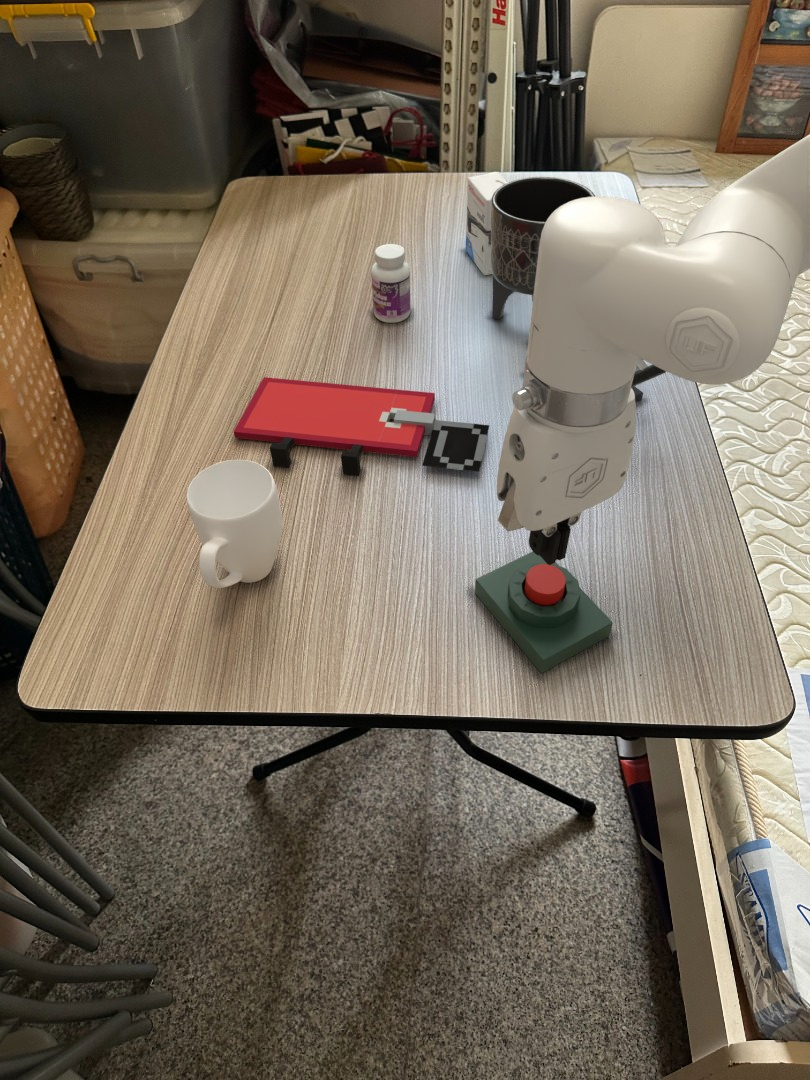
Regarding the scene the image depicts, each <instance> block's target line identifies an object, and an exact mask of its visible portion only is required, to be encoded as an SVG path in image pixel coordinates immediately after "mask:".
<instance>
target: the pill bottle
mask: <svg viewBox="0 0 810 1080" xmlns="http://www.w3.org/2000/svg"><path fill="white" fill-rule="evenodd" d="M405 260H406V255H405V248H404V247H403V246H401V245H399V244H395V243H385V244H382V245H379V246H378V247H376V249H375V251H374V261H375V262H374V263H373V265H372V266H371V270H370V276H371V290H372V291H371V292H372V307H373V314H374V317H375V318H376V319H378V320H379V321H380V322H383V323H387V324H395V323H396V324H397V323H400V322H402V321H404V320H406V319H408V317H409V316H410V314H411V270H410V266H409V264H408V262H406V261H405Z"/></svg>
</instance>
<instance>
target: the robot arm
mask: <svg viewBox="0 0 810 1080" xmlns="http://www.w3.org/2000/svg"><path fill="white" fill-rule="evenodd" d="M666 240H667V239H666V233H665V229H664V226H663V224H662V222H661V221H660V219H659V217H658V216H657V215H656V214H655V213H654V212H653V211H652V210H651V209H649V208H647V207H646V206H644V205H642V204H640V203H638V202H636V201H632V200H630V199H625V198H621V197H615V196H607V195H606V196H605V195H599V196H598V195H597V196H596V195H595V197H585V198H579V199H575V200H573V201H570V202H568V203H566V204H564V205H562V206H560V207H559V208H557V209H556V210H555V211H554V212H553V213H552V214H551V215H550V216H549V218H548V219H547V221H546V223H545V225H544V228H543V230H542V233H541V239H540V245H539V253H538V261H537V270H536V278H535V287H534V295H533V301H532V304H531V305H532V306H531V313H530V322H529V332H528V339H527V340H528V341H527V349H526V358H525V365H524V374H523V382H522V387H521V388H520V390H517V391H515V392H513V394H512V396H511V399H512V403H513V406H514V407H513V409H512V412H511V415H510V418H509V421H508V423H507V426H506V427H507V428H506V431H505V435H504V439H503V442H502V448H501V452H500V456H499V457H500V458H499V463H498V470H497V476H496V477H497V479H496V497H497V500H498V501H500V502H503V504H502V507H501V510H500V512H499V515H498V518H497V521H498V522H499V524H500V525H501V526H502V527H503V528H504V529H505V531H506V532H512V531H517V530H520V529H523V528H524V529H525V530H526V531H529V537H528V546H529V549H531V552H534V553H535V554H536V555H540V556H541V558H542V559H543V560H544V561H545V562H546V563H547V564H548V565H551V564H553V563H555V562H556V561H561V560H563V559H565V558H566V555H567V552H568V551H567V550H568V545H569V540H570V536H571V530H572V528H571V527H574V526H575V525H576V524H577V523H578V522H579V520H580V518H581V515H582V512H585V511H586V510H589V509H591V508H593V507H595V506H596V505H599V504H601V503H603V502H605V501H607V500H609V499H610V498H613V497H614V496H615V495H616V494H618V493H619V492H620V491H621V490H622V488H623V487H624V484H625V482H626V479H627V475H628V471H629V468H630V463H631V458H632V457H631V456H632V453H633V447H634V440H635V432H636V421H637V405H636V404H637V403H635V394H634V391H633V389H632V388H631V386H632V382H633V378H634V373H635V370H636V366H637V362H638V357H639V358H641V359H643V361H644V362H647V363H649V364H650V365H654V366H656V367H658V368H660V369H662V370H664V371H666V372H665V373H669V374H671V375H673V376H676V377H678V378H681V379H683V380H686V381H689V382H693V383H698V384H703V385H709V386H710V385H713V386H714V385H717V386H718V385H719V386H720V385H727V384H732V383H735V382H739V381H741V380H743V379H745V378H747V377H749V376H750V375H752V374H754V373H755V372H756V371H757V370H758V369H760V367H762V365H763V364H764V363H765V362H766V361H767V360H768V358H769V356H770V355H771V354H772V352H773V350H774V348H775V345H776V344H777V341H778V339H779V336H780V333H781V329H782V327H783V324H784V320H785V317H786V314H787V310H788V307H789V304H790V300H791V297H792V294H793V291H794V289H795V284H796V281H797V278H798V276H800V275H802V274H804V273H805V272H807V271H809V270H810V133H809V134H808V135H806V136H805V137H802V139H800V140H798V141H796V142H794V143H793V144H792V145H790V146H788V147H787V148H785V149H784V150H782V151H780V152H779V153H777V154H776V155H774V156H773V157H771V158H769V159H768V160H766V161H765V162H763V163H762V164H760V165H759V166H757V167H755V168H753V169H752V170H750V171H749V172H748V173H745V174H744V175H743V176H741V177H739V178H738V179H737V180H735V181H733V182H732V183H731V184H729V185H728V186H726V187H725V188H724V189H722V190H720V191H719V192H718V193H717V194H715V195H714V196H713V197H711V198H710V199H709V200H708V201H707V202H706V203H705V204H703V206H701V208H700V209H699V210H698V211H697V212H696V213H695V215H693V217H692V218H691V219H690V221H689V222H688V224H687V225H686V227H685V229H684V230H683V231H682V234H681V235H680V237H679V239H678V240H677V242H676V244H675V245H674V246H673V245H670V244H668V243H667V241H666Z"/></svg>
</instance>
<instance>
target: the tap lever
mask: <svg viewBox="0 0 810 1080" xmlns="http://www.w3.org/2000/svg"><path fill="white" fill-rule="evenodd" d="M666 373H667V372H666V371H664V370H662V369H660V368H658V367H656V366H654V365H652V364H650V365H648V364H647V363H646V361H645V360H643V359H641V358H639V357H638V362H637V366H636V370H635V373H634V378H633V382H632V386H631V387H633V386H635V387H637V386H638V385H641V384H642V383H643V384H644V383H645V382H647V381H650V380H652V379H654V378H657V377H659V376H661V375H664V374H666Z"/></svg>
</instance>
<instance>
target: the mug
mask: <svg viewBox="0 0 810 1080" xmlns="http://www.w3.org/2000/svg"><path fill="white" fill-rule="evenodd" d="M186 505H187V508H188V512H189V515H190V517H191V521H192V523H193V526H194V529H195V532H196V534H197V537H198V539H199V541H200V543H201V545H202V546H201V548H200V551H199V559H198V565H199V567H198V569H199V573H200V576H201V579H202V580H203V582H204V583H205V584H206V585H207V586H209V587H211V588H217V589H224V588H228V587H231V586H233V585H235V584H238V583H239V582H241V583H245V584H246V583H247V584H248V583H249V584H250V583H256V582H259V581H261V580H264V579H265V578H266V577H267V576H268V575H269V574H270V573H271V571H272V569H273V566H274V563H275V560H276V556H277V553H278V549H279V547H280V543H281V540H282V534H283V513H282V508H281V503H280V498H279V493H278V488H277V485H276V482H275V479H274V477H273V475H272V473H271V472H270V471H269V470H268V469H267V468H266V467H265V466H264V465H262V464H260V463H258V462H256V461H252V460H249V459H248V460H247V459H229V460H228V459H227V460H222V461H220V462H216V463H214V464H211V465H209V466H207V467H205V468H204V469H203V470H201V471H200V472H198V473H197V474H196V475H195V476H194V477H193V479H192V480H191V481H190V483H189V485H188V488H187V490H186ZM216 563H218V564H219V565H220V566H221V567H222V568H223V569H224V570H225V571H226V572H227V573H229V574H228V575H227V576H226V577H224V578H222V579H219V578H218V573H217V569H216Z"/></svg>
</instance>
